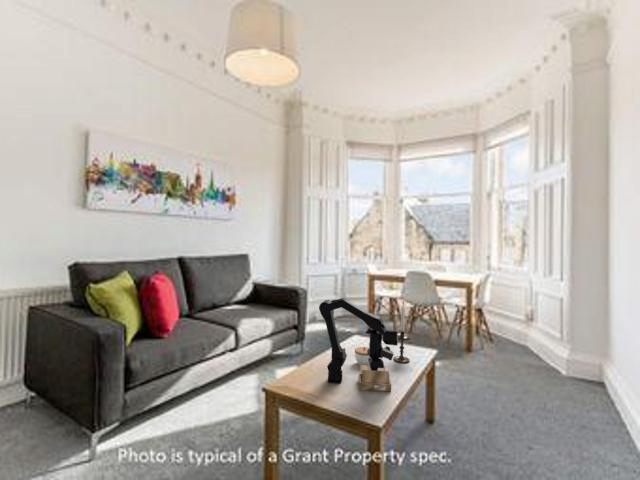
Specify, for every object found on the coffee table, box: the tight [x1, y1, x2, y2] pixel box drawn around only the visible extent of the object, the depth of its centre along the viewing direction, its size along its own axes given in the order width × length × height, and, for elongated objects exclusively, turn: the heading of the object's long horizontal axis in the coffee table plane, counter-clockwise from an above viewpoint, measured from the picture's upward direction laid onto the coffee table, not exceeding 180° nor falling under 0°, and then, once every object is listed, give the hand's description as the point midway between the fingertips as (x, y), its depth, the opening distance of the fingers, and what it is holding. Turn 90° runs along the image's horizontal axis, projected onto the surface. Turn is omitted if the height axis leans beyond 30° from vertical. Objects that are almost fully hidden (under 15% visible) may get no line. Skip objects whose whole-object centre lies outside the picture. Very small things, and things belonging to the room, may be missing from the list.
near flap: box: [361, 370, 390, 383], centre depth 162 cm, size 12×5×1 cm
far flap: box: [359, 364, 387, 374], centre depth 175 cm, size 12×5×1 cm, turn 87°
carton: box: [357, 372, 392, 393], centre depth 167 cm, size 15×11×4 cm
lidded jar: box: [354, 346, 370, 366], centre depth 195 cm, size 11×11×9 cm
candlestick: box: [392, 300, 413, 364], centre depth 201 cm, size 11×11×35 cm
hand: (374, 375), depth 167 cm, fingers closed
